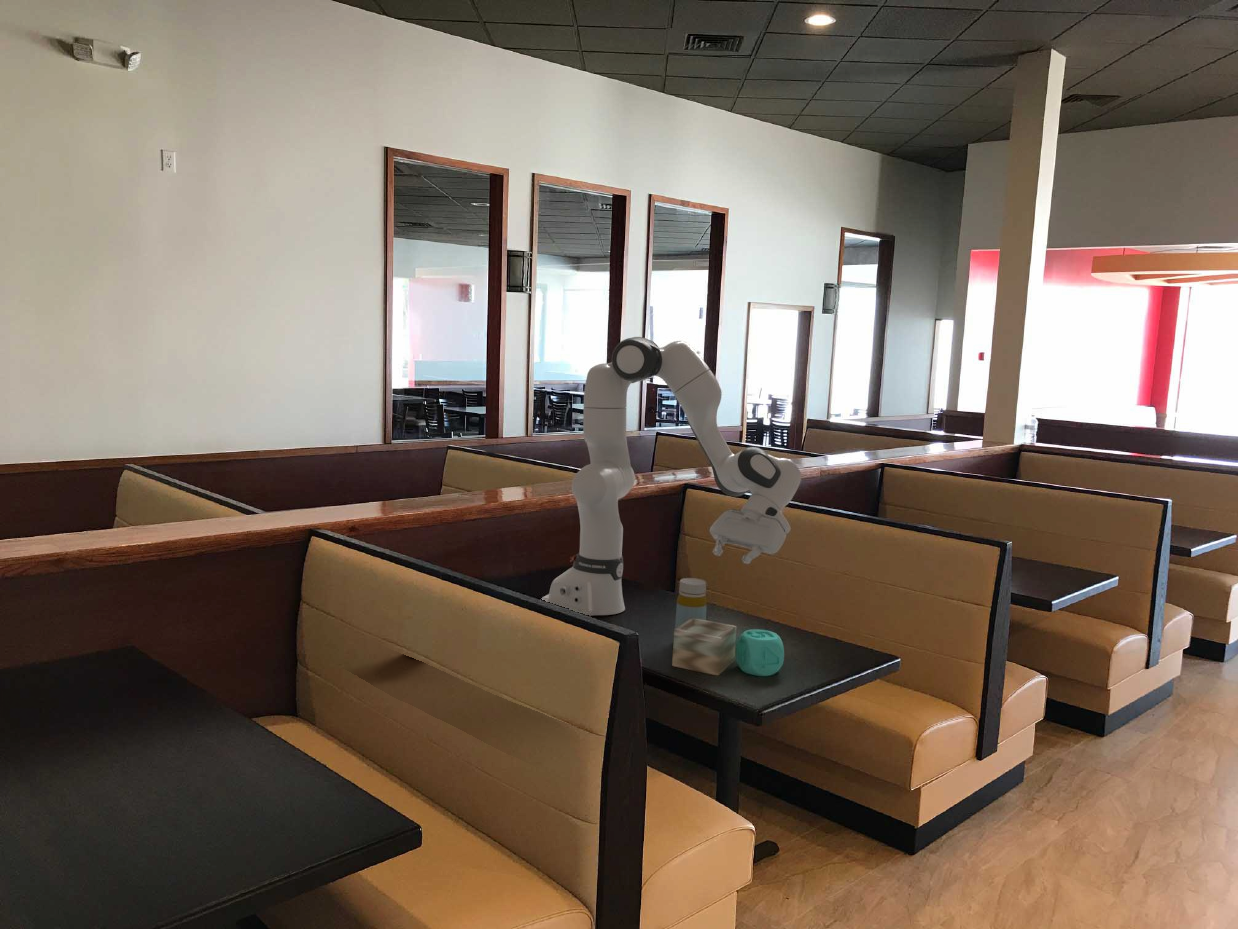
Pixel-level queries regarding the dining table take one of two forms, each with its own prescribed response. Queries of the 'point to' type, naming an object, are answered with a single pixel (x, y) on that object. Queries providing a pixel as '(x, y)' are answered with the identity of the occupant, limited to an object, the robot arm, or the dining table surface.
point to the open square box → (704, 646)
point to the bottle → (691, 600)
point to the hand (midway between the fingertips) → (730, 558)
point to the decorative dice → (759, 652)
